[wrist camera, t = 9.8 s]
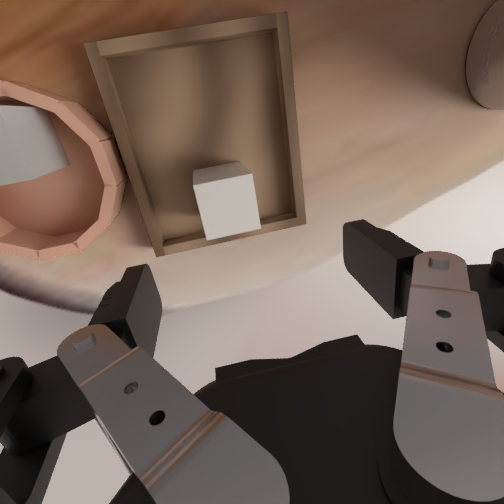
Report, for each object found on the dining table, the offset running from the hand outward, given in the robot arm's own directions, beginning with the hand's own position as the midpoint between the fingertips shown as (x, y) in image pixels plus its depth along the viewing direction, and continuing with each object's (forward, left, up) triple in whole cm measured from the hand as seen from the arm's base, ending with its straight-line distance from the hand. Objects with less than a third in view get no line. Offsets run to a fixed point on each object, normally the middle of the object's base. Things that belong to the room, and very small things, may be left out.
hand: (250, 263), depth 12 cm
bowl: (+13, -4, -16) cm, 21 cm away
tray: (0, -3, -16) cm, 16 cm away
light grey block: (+13, -6, -15) cm, 21 cm away
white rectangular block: (0, 0, -15) cm, 15 cm away
